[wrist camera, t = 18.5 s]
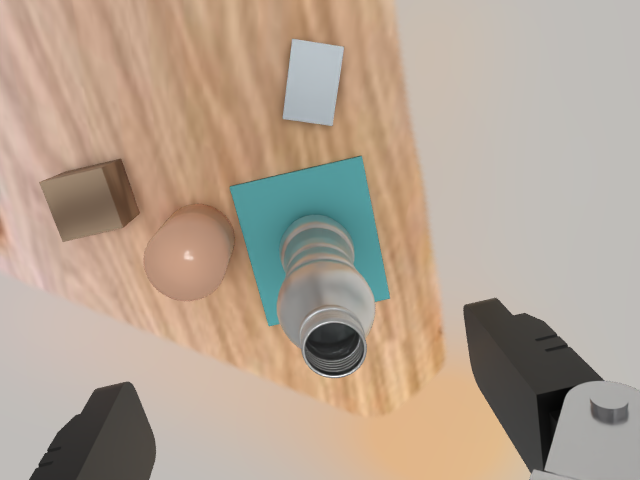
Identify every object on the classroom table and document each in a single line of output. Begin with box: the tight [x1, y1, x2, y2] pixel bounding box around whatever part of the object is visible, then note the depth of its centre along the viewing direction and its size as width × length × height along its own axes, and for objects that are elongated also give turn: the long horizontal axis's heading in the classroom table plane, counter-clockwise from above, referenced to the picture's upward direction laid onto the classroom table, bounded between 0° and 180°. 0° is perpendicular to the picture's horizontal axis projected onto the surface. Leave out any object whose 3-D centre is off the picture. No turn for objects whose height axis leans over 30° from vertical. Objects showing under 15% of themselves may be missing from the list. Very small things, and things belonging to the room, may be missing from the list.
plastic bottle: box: [277, 215, 375, 378], centre depth 38 cm, size 6×7×20 cm
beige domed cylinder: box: [144, 204, 235, 301], centre depth 44 cm, size 6×6×7 cm
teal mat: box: [230, 156, 390, 326], centre depth 48 cm, size 14×12×1 cm
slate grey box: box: [283, 39, 344, 126], centre depth 42 cm, size 6×4×4 cm, turn 172°
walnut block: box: [39, 159, 139, 242], centre depth 43 cm, size 5×5×5 cm
